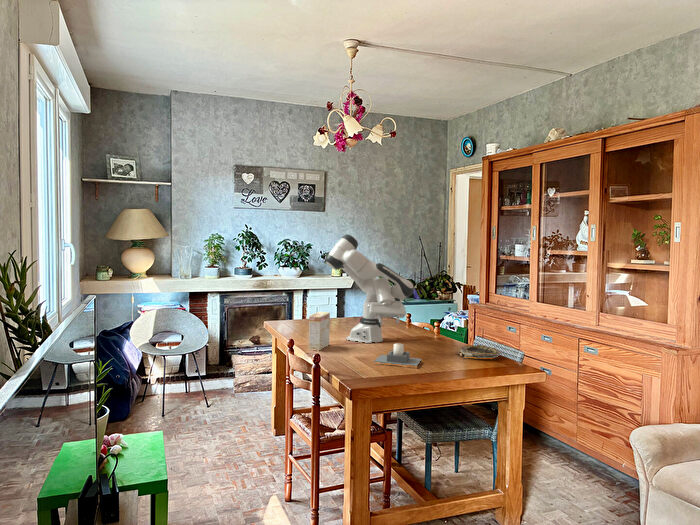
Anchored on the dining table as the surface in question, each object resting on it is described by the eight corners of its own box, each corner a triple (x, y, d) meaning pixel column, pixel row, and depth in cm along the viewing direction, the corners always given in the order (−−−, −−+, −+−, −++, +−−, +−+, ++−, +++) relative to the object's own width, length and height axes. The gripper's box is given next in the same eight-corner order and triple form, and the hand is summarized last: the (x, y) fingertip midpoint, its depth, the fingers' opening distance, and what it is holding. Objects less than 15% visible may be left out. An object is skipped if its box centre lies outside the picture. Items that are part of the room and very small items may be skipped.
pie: (476, 348, 304) (477, 340, 303) (517, 359, 282) (517, 350, 282) (444, 355, 286) (445, 346, 286) (485, 367, 265) (486, 358, 264)
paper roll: (391, 360, 266) (391, 344, 265) (396, 358, 270) (397, 342, 269) (399, 361, 263) (400, 346, 262) (405, 359, 267) (405, 344, 266)
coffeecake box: (318, 344, 303) (319, 311, 302) (329, 345, 301) (330, 312, 299) (308, 350, 289) (308, 315, 288) (319, 351, 287) (320, 316, 285)
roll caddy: (374, 364, 263) (374, 354, 263) (380, 357, 276) (380, 348, 276) (417, 368, 257) (417, 358, 256) (421, 361, 270) (421, 352, 270)
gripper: (368, 297, 280) (372, 318, 271) (404, 299, 285) (408, 319, 276) (365, 304, 285) (369, 325, 276) (401, 306, 290) (405, 326, 280)
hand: (389, 322), depth 276 cm, fingers open, 8 cm apart
